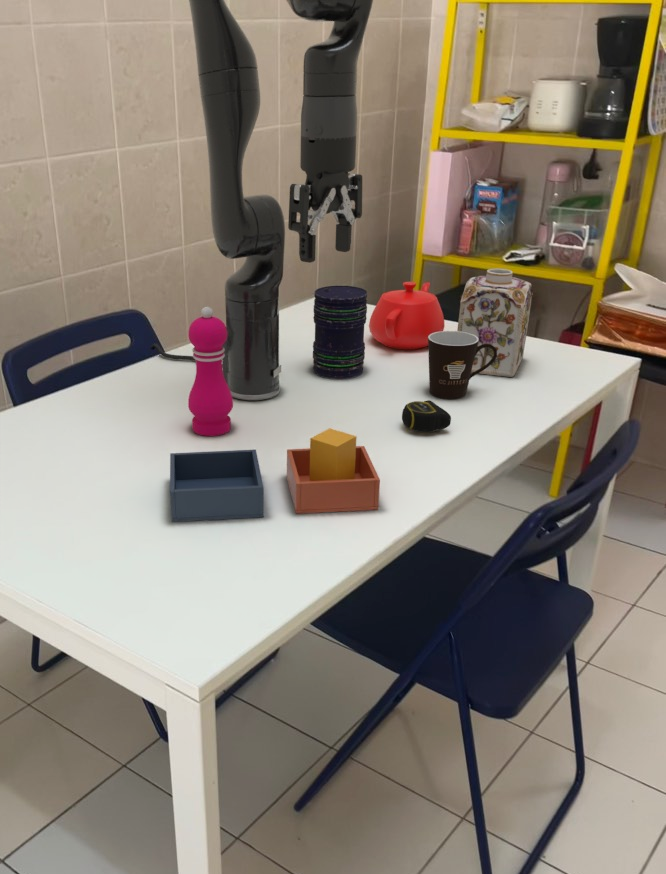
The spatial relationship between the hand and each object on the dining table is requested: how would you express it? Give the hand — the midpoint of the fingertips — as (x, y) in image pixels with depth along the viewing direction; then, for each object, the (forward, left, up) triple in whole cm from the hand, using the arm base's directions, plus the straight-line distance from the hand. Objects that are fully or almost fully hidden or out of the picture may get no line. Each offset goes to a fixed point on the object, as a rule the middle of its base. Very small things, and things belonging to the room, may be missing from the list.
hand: (325, 256), depth 126 cm
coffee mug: (+12, +29, -28) cm, 42 cm away
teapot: (-8, +54, -28) cm, 62 cm away
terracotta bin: (+10, -17, -28) cm, 34 cm away
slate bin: (-2, -27, -28) cm, 39 cm away
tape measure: (+13, +12, -28) cm, 33 cm away
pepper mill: (-17, -6, -28) cm, 34 cm away
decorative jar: (+12, +47, -28) cm, 56 cm away
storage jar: (-12, +30, -28) cm, 43 cm away
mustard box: (+11, -17, -28) cm, 34 cm away
